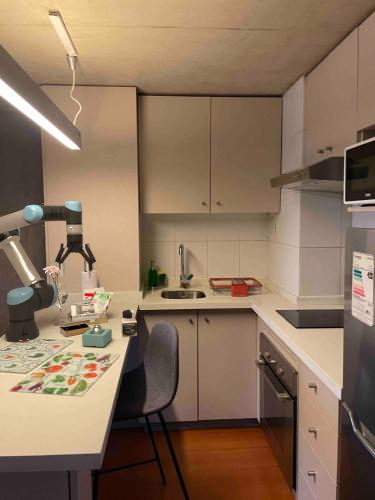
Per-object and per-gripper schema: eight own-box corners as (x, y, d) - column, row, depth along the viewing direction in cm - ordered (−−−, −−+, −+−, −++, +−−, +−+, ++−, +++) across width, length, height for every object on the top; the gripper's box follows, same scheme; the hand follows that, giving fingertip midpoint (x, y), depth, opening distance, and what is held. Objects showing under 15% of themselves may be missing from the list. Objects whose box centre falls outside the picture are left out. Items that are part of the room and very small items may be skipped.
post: (85, 346, 167) (85, 327, 166) (93, 340, 174) (92, 322, 174) (102, 347, 165) (101, 328, 164) (109, 341, 173) (108, 323, 172)
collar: (82, 345, 166) (82, 334, 165) (91, 338, 176) (91, 327, 175) (103, 346, 164) (103, 336, 164) (111, 339, 174) (111, 328, 173)
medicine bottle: (122, 337, 178) (121, 312, 177) (121, 332, 185) (120, 309, 184) (137, 335, 180) (136, 311, 179) (135, 331, 187) (134, 308, 186)
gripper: (46, 233, 176) (48, 277, 179) (95, 234, 172) (97, 279, 174) (54, 232, 184) (56, 274, 186) (102, 233, 179) (103, 276, 182)
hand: (76, 277), depth 180 cm, fingers open, 13 cm apart
